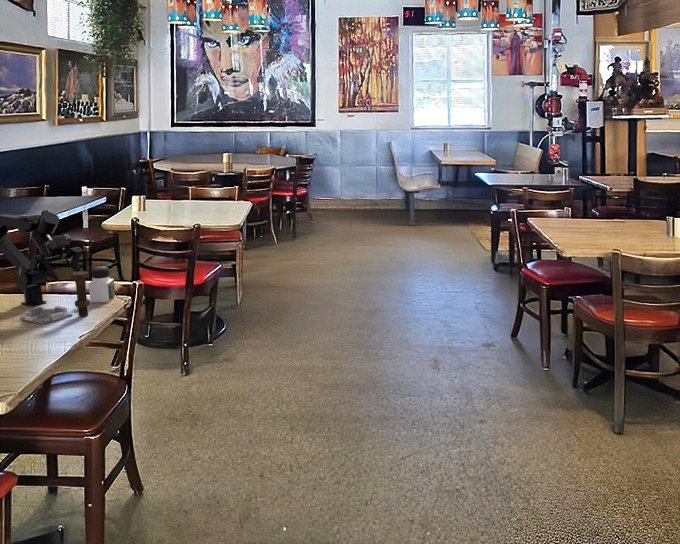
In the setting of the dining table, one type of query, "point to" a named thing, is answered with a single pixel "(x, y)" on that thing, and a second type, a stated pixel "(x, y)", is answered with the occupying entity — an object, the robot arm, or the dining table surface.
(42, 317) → the ring collar
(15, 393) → the dining table surface
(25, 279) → the robot arm
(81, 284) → the bolt
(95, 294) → the medicine bottle
